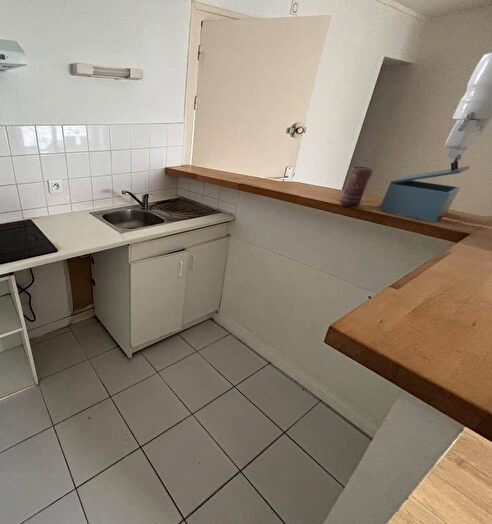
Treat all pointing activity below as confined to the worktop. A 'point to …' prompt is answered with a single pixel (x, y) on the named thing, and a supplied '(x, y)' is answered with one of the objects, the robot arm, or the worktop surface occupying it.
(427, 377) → the worktop surface
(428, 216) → the blue hinged box
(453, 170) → the blue box lid
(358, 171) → the can
